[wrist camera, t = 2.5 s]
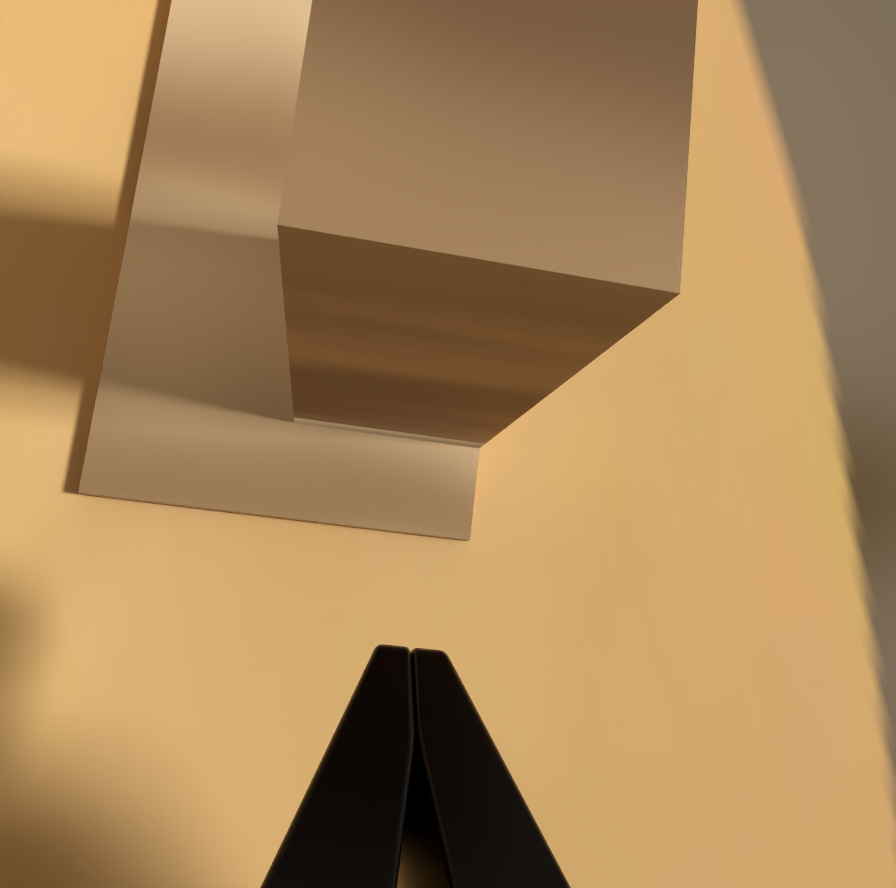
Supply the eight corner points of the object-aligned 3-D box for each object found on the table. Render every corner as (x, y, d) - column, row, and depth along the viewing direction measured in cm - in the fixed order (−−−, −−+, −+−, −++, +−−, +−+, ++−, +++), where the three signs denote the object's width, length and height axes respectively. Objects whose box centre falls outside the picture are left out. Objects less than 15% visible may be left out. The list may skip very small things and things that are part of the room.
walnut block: (479, 448, 18) (680, 293, 8) (294, 422, 17) (277, 224, 8) (497, 275, 19) (701, -54, 9) (320, 245, 18) (334, -140, 8)
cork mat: (466, 540, 18) (469, 540, 18) (83, 494, 17) (77, 493, 17) (524, -23, 21) (529, -34, 20) (195, -96, 19) (192, -110, 19)
